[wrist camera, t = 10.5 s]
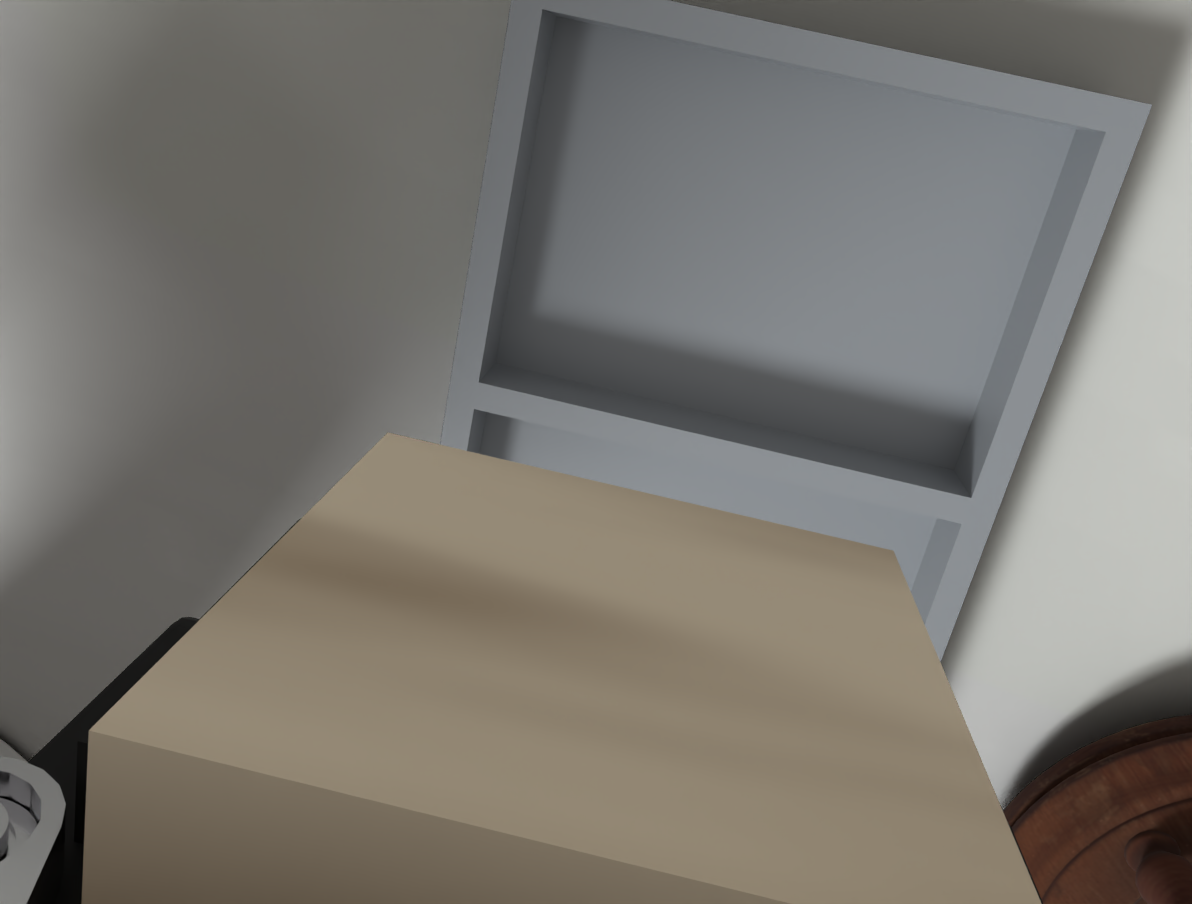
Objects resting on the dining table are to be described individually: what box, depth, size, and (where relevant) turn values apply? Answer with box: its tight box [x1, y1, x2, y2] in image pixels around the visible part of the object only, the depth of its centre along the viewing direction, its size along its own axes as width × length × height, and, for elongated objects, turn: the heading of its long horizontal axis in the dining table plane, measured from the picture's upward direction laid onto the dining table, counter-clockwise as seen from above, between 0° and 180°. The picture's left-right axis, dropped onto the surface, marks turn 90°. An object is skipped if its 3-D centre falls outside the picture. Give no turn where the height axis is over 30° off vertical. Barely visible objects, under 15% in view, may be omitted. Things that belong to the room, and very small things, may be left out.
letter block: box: [82, 433, 1042, 904], centre depth 8 cm, size 5×5×5 cm
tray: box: [440, 0, 1152, 662], centre depth 29 cm, size 22×16×3 cm
